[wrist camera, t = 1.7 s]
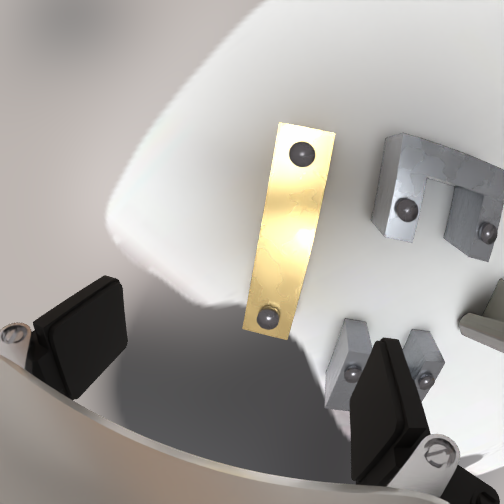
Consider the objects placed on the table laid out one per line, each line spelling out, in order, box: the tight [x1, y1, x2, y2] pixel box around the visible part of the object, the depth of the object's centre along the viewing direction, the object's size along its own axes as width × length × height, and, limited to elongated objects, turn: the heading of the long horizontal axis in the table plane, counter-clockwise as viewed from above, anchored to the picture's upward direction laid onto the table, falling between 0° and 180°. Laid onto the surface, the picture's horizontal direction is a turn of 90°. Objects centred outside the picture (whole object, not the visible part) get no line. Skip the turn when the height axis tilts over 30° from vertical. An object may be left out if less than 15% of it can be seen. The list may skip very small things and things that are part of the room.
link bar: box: [243, 122, 335, 340], centre depth 24 cm, size 4×17×6 cm, turn 171°
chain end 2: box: [325, 318, 445, 411], centre depth 25 cm, size 10×8×6 cm
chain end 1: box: [371, 133, 504, 262], centre depth 19 cm, size 10×8×6 cm
